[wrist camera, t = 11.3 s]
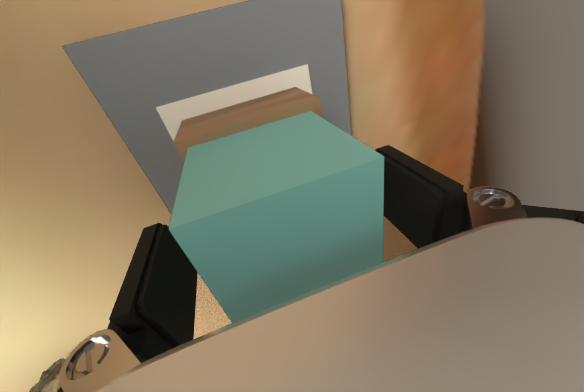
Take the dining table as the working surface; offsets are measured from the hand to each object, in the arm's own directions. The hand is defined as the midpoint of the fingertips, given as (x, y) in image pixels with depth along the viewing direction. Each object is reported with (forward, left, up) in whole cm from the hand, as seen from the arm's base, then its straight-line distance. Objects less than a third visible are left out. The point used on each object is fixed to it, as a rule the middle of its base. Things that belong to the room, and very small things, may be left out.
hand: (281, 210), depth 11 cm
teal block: (0, 0, -3) cm, 3 cm away
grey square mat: (0, 0, -8) cm, 8 cm away
